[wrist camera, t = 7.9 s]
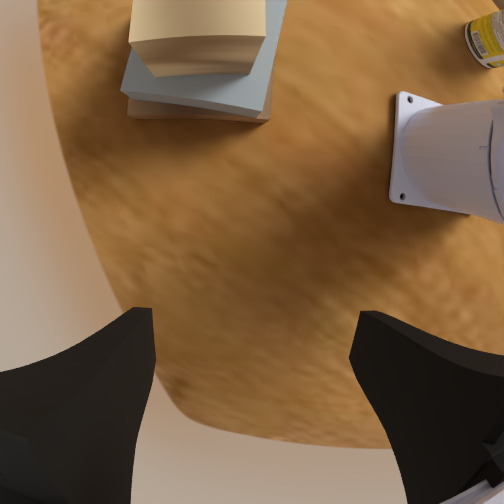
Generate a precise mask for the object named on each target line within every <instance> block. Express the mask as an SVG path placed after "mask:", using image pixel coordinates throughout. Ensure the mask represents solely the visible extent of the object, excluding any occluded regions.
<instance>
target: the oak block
mask: <svg viewBox="0 0 504 504" xmlns="http://www.w3.org/2000/svg"><path fill="white" fill-rule="evenodd" d="M265 37H266V15H265V0H133V7H132V15H131V23H130V32H129V42H128V43H129V44H130V45H131V47H132V48H133V49H134V50H135V52H136V53H137V54H138V56H139V57H140V58H141V60H142V61H143V62H144V64H145V65H146V66H147V68H148V69H149V70H150V72H151V73H152V74H153V76H154V77H155V78H156V77H168V76H181V75H202V74H250V72H251V70H252V67H253V65H254V63H255V60H256V58H257V56H258V53H259V51H260V49H261V46H262V44H263V42H264V39H265Z"/></svg>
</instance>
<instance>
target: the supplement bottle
mask: <svg viewBox="0 0 504 504" xmlns="http://www.w3.org/2000/svg"><path fill="white" fill-rule="evenodd" d="M465 38H466V42H467V45H468V47H469V49H470V51H471V53H472V54H473V56H474V57H475V58H476V59H477V60H478V61H479V62H480V63H481V64H482V65H484V66H485V67H487V68H497V67H503V66H504V9H503V10H500V11H498V12H495V13H492V14H489V15H486V16H484V17H481V18H478V19H476V20H473V21H471V22H469V23H468V24H467V25H466V27H465Z"/></svg>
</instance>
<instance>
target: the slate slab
mask: <svg viewBox="0 0 504 504" xmlns="http://www.w3.org/2000/svg"><path fill="white" fill-rule="evenodd" d="M286 4H287V0H265V15H266V37H265V39H264V42H263V44H262V46H261V49H260V51H259V53H258V56H257V58H256V60H255V63H254V65H253V67H252V70H251V72H250V74H202V75H181V76H168V77H156V78H155V77H154V76H153V74H152V73H151V72H150V70H149V69H148V68H147V66H146V65H145V64H144V62H143V61H142V60H141V58H140V57H139V56H138V54H137V53H136V52H135V50H134V49H133V48H132V49H131V52H130V55H129V59H128V62H127V66H126V69H125V73H124V77H123V81H122V85H121V89H120V91H121V92H122V93H124V94H125V95H127V96H128V97H130V98H131V99H134V100H144V101H154V102H163V103H171V104H178V105H186V106H192V107H199V108H205V109H211V110H217V111H223V112H228V113H233V114H239V115H244V116H249V117H253V118H256V117H257V116H258V115H259V114H260V113H261V112H262V111H263V106H264V102H265V97H266V92H267V88H268V83H269V79H270V74H271V70H272V65H273V61H274V56H275V52H276V48H277V43H278V39H279V35H280V30H281V26H282V22H283V17H284V13H285V9H286Z"/></svg>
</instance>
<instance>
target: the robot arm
mask: <svg viewBox="0 0 504 504" xmlns="http://www.w3.org/2000/svg"><path fill="white" fill-rule="evenodd" d="M503 94H504V87H503ZM407 98H409V99H410V103H409V102H408V100H407ZM401 194H403V198H402V199H400V195H401ZM389 199H390V200H391V201H392V202H394V203H400V204H407V205H414V206H421V207H428V208H434V209H441V210H447V211H453V212H459V213H465V214H471V215H475V216H478V217H482V218H485V219H488V220H491V221H494V222H497V223H500V224H503V225H504V99H497V100H486V101H476V102H467V103H458V104H450V105H442V104H439V103H436V102H434V101H431V100H428V99H425V98H423V97H420V96H417V95H414V94H411V93H408V92H404V91H401V92H398V93H397V95H396V115H395V134H394V148H393V160H392V171H391V180H390V189H389ZM349 360H350V363H351V366H352V368H353V371H354V374H355V376H356V379H357V381H358V383H359V384H360V386H361V388H362V390H363V392H364V393H365V395H366V397H367V399H368V400H369V402H370V404H371V406H372V407H373V409H374V411H375V413H376V414H377V416H378V418H379V420H380V421H381V423H382V425H383V427H384V429H385V431H386V434H387V436H388V439H389V441H390V444H391V446H392V449H393V452H394V455H395V457H396V461H397V464H398V467H399V470H400V473H401V477H402V481H403V485H404V488H405V493H406V497H407V503H408V504H504V356H503V355H497V354H492V353H487V352H482V351H478V350H474V349H470V348H467V347H464V346H461V345H457V344H454V343H452V342H449V341H446V340H444V339H441V338H439V337H436V336H434V335H431V334H429V333H427V332H425V331H422V330H420V329H418V328H416V327H414V326H411V325H409V324H407V323H405V322H403V321H401V320H399V319H396V318H394V317H392V316H389V315H387V314H384V313H382V312H379V311H360V315H359V320H358V324H357V328H356V332H355V336H354V340H353V344H352V348H351V351H350V355H349ZM155 362H156V355H155V344H154V332H153V319H152V308H142V307H133V308H131V309H130V310H128V311H127V312H125V313H124V314H122V315H121V316H120V317H118V318H117V319H116V320H114V321H112V322H111V323H110V324H108V325H107V326H105V327H104V328H102V329H101V330H99V331H98V332H96V333H94V334H93V335H91V336H90V337H88V338H86V339H85V340H83V341H82V342H80V343H78V344H76V345H75V346H72V347H70V348H69V349H67V350H64V351H62V352H60V353H58V354H56V355H54V356H51V357H49V358H46V359H43V360H40V361H38V362H35V363H32V364H29V365H26V366H23V367H20V368H16V369H12V370H7V371H3V372H0V504H131V503H130V502H131V486H132V485H131V484H132V474H133V464H134V456H135V448H136V441H137V437H138V432H139V429H140V425H141V421H142V417H143V414H144V411H145V407H146V403H147V400H148V396H149V393H150V390H151V386H152V381H153V376H154V369H155Z"/></svg>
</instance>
